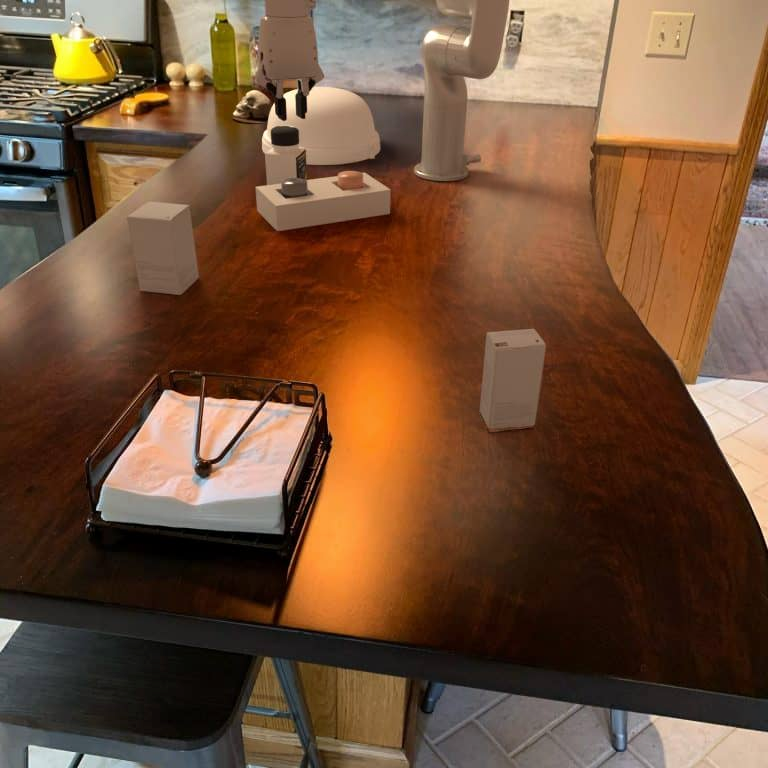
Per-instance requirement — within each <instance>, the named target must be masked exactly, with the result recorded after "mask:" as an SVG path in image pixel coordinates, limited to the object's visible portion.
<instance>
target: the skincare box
mask: <svg viewBox="0 0 768 768" xmlns="http://www.w3.org/2000/svg"><path fill="white" fill-rule="evenodd" d="M546 349H547V344H546V343H545V341H544V340H543V338H542V337H541V336H540V334H539V333H538V332H537V331H536V329H535V328H526V329H525V328H524V329H514V330H512V329H511V330H501V331H489V332H488V331H487V332H486V337H485V347H484V356H483V357H484V360H483V369H482V370H483V372H482V380H481V381H482V382H481V390H480V391H481V392H480V393H481V394H480V404H479V412H481V414H482V416H483V418H484V420H485V422H486V424H487V426H488V428H491V429H493V428H494V429H495V428H505V427H506V428H507V427H522V426H533V425H535V426H536V419H537V414H538V413H537V411H538V407H539V406H538V405H539V399H540V393H541V385H542V377H543V372H544V371H543V370H544V363H545V355H546Z"/></svg>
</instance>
